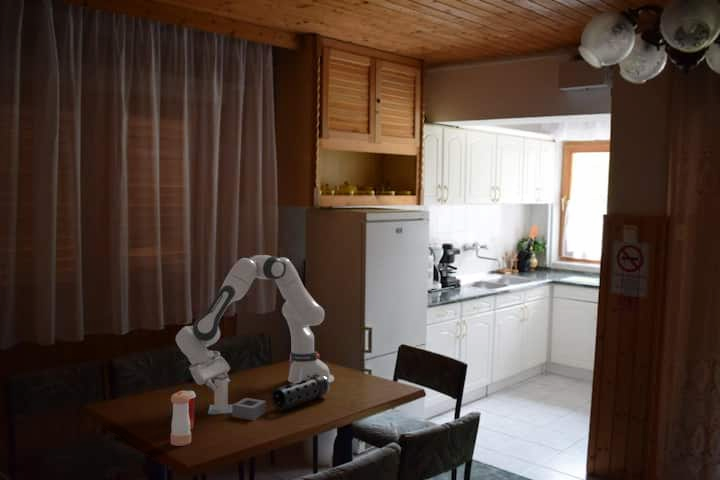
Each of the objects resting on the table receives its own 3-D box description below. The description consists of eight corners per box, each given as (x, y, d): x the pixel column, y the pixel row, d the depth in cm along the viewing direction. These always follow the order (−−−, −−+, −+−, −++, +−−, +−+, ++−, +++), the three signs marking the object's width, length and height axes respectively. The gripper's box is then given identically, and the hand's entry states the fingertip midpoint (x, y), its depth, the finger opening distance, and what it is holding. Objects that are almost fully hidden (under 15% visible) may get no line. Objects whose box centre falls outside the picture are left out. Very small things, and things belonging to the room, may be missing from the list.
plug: (219, 406, 282) (219, 374, 281) (227, 407, 281) (227, 375, 280) (214, 409, 279) (214, 376, 277) (222, 410, 277) (222, 377, 276)
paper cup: (179, 424, 262) (178, 389, 261) (198, 424, 262) (198, 390, 261) (172, 431, 255) (172, 395, 254) (192, 432, 254) (192, 396, 253)
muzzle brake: (270, 409, 281) (270, 386, 280) (315, 394, 303) (315, 372, 302) (286, 414, 275) (286, 390, 275) (331, 398, 297) (331, 376, 296)
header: (245, 409, 281) (245, 397, 281) (266, 412, 277) (266, 401, 277) (232, 416, 272) (232, 404, 271) (253, 420, 268) (253, 408, 268)
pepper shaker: (166, 444, 243) (166, 392, 241) (178, 437, 249) (178, 387, 248) (183, 447, 240) (182, 395, 238) (195, 440, 247) (194, 389, 245)
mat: (233, 405, 285) (233, 404, 285) (232, 413, 276) (232, 412, 275) (210, 406, 284) (210, 404, 284) (207, 414, 274) (207, 412, 274)
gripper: (192, 361, 271) (212, 388, 268) (220, 350, 290) (240, 375, 287) (183, 371, 273) (203, 397, 270) (212, 359, 292) (231, 383, 289)
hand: (222, 385), depth 279 cm, fingers open, 8 cm apart
